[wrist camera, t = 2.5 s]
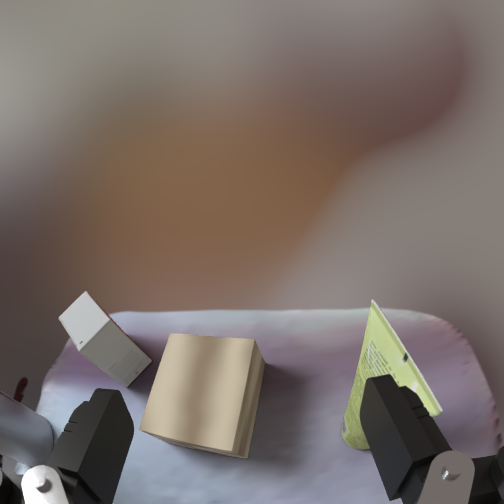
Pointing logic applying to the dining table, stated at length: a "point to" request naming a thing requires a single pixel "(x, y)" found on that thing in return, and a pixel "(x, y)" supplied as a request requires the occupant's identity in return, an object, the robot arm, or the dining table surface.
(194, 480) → the dining table surface
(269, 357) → the dining table surface
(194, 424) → the birch block
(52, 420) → the dining table surface
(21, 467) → the dining table surface
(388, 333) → the tube
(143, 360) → the small box
